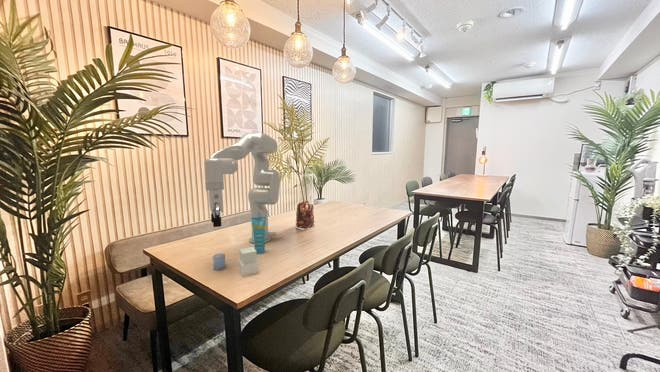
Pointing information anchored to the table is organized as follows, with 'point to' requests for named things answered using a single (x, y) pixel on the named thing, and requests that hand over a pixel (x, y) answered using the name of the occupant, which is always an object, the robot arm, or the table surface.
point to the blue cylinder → (219, 262)
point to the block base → (248, 268)
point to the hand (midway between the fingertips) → (216, 224)
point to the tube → (259, 233)
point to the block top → (248, 255)
